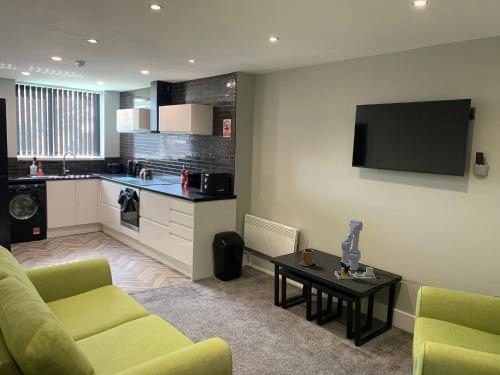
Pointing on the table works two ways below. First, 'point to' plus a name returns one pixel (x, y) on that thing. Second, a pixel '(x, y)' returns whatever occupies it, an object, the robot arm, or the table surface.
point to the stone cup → (307, 257)
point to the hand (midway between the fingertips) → (344, 271)
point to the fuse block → (363, 275)
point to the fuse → (369, 271)
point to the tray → (344, 276)
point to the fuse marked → (343, 272)
